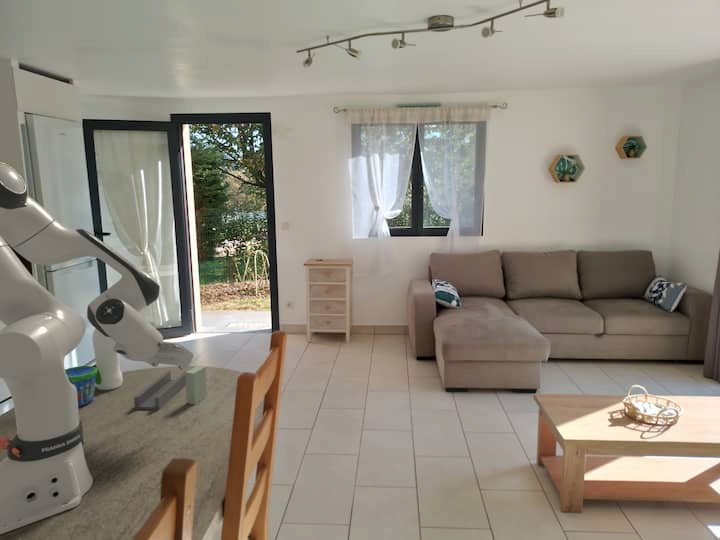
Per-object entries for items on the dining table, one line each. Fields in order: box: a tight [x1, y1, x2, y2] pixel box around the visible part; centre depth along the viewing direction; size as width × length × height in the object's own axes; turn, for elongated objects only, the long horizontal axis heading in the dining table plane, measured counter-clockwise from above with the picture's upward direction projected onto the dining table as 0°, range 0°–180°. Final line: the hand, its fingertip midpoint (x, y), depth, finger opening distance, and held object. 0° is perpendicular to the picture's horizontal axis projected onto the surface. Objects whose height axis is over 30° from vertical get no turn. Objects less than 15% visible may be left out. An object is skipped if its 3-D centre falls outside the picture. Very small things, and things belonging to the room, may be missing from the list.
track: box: [133, 371, 186, 411], centre depth 154 cm, size 22×7×4 cm, turn 177°
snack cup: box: [65, 365, 102, 407], centre depth 147 cm, size 16×10×10 cm
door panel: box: [184, 365, 208, 405], centre depth 150 cm, size 6×3×10 cm, turn 163°
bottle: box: [91, 328, 124, 391], centre depth 159 cm, size 8×8×30 cm
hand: (170, 365), depth 138 cm, fingers open, 8 cm apart
